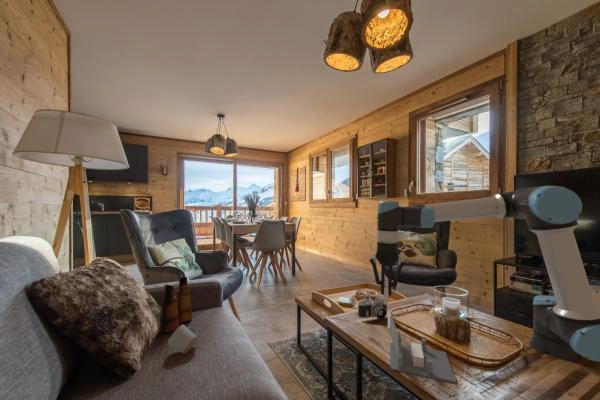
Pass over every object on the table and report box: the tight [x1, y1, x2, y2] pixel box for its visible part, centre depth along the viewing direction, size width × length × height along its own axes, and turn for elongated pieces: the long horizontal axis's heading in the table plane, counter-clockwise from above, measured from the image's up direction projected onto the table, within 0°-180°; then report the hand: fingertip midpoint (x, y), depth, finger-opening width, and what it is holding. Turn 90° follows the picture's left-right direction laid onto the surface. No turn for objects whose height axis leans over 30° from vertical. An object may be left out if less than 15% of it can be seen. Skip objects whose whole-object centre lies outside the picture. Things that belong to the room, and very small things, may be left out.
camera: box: [357, 296, 388, 320], centre depth 129 cm, size 16×9×10 cm, turn 105°
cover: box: [387, 311, 399, 354], centre depth 97 cm, size 9×14×1 cm
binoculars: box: [158, 276, 193, 334], centre depth 122 cm, size 18×8×20 cm, turn 169°
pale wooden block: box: [410, 342, 424, 368], centre depth 94 cm, size 3×9×3 cm, turn 161°
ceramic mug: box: [167, 324, 198, 355], centre depth 100 cm, size 11×8×8 cm
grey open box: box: [389, 330, 457, 384], centre depth 94 cm, size 20×17×6 cm
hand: (385, 303), depth 98 cm, fingers closed
